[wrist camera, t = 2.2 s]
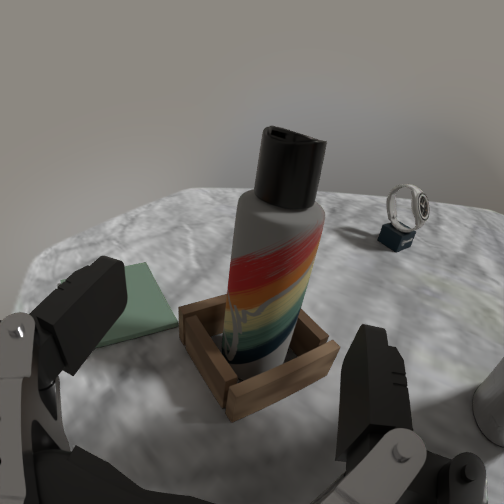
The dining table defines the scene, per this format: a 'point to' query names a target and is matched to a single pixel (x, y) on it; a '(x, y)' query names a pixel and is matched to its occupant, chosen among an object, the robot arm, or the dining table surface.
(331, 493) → the robot arm
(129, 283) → the sage mat
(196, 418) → the dining table surface
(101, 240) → the dining table surface
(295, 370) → the walnut holder
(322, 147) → the lotion bottle
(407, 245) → the watch
